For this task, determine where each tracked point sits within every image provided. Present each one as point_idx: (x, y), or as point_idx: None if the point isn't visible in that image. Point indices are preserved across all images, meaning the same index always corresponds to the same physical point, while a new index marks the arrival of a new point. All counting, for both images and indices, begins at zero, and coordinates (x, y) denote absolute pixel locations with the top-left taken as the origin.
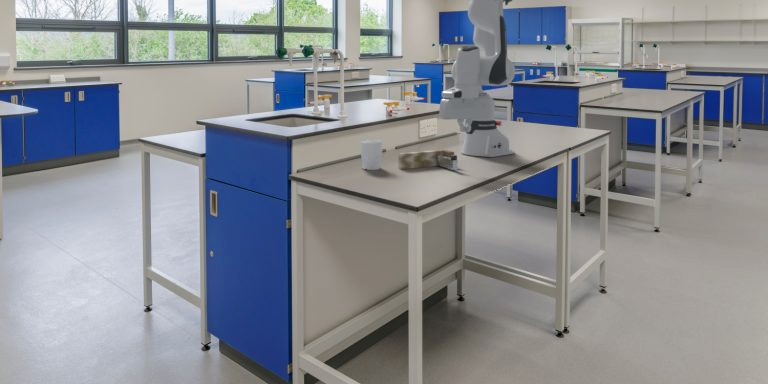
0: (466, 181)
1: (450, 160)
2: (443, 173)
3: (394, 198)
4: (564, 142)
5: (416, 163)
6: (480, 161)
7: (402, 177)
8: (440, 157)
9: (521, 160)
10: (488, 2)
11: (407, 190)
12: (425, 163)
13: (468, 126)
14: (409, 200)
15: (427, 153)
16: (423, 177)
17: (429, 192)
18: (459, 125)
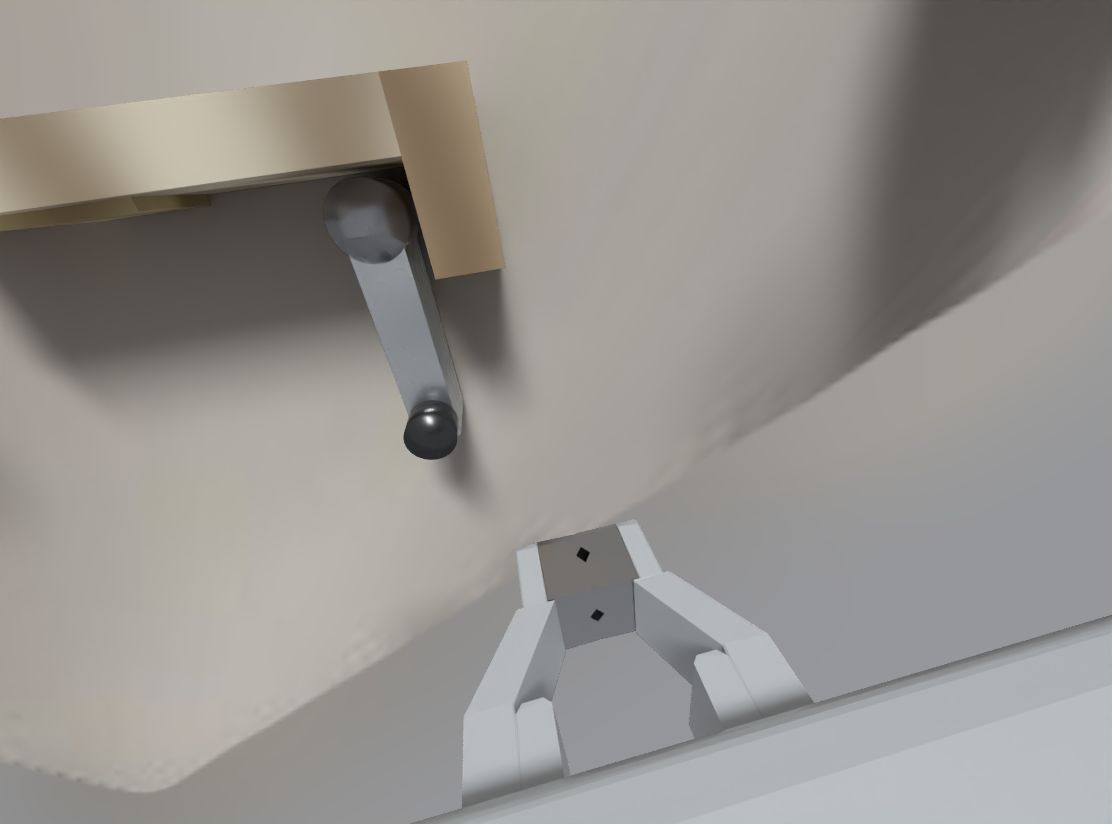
0: (423, 589)
1: (409, 410)
2: (350, 438)
3: (48, 756)
4: None
5: (101, 220)
6: (808, 107)
7: (31, 492)
8: (354, 261)
9: (1061, 182)
10: None
11: (99, 686)
12: (219, 190)
13: (648, 630)
14: (119, 766)
15: (176, 189)
16: (194, 508)
17: (210, 703)
18: (510, 632)
